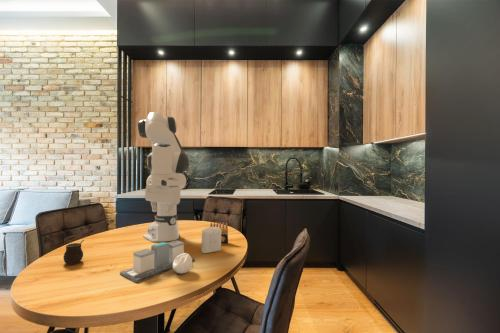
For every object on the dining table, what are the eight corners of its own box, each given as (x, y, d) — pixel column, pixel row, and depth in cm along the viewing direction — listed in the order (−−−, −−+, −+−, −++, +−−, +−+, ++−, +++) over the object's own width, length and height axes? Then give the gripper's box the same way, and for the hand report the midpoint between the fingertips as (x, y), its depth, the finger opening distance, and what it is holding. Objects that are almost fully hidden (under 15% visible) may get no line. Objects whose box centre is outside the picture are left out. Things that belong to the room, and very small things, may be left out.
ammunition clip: (209, 242, 143) (209, 221, 143) (209, 241, 145) (210, 221, 145) (227, 243, 142) (227, 222, 142) (228, 242, 144) (228, 221, 144)
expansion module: (150, 264, 107) (151, 244, 107) (163, 260, 112) (163, 241, 112) (156, 266, 104) (156, 246, 104) (168, 262, 109) (169, 243, 109)
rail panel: (120, 274, 100) (120, 269, 100) (177, 255, 123) (177, 251, 123) (136, 283, 93) (136, 277, 93) (194, 260, 116) (194, 256, 116)
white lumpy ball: (170, 270, 104) (171, 252, 104) (188, 267, 108) (189, 249, 108) (175, 278, 97) (175, 258, 97) (194, 274, 101) (194, 255, 101)
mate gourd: (65, 260, 113) (66, 238, 113) (85, 258, 116) (86, 237, 116) (60, 266, 107) (61, 243, 107) (81, 264, 110) (82, 241, 110)
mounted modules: (133, 270, 101) (133, 252, 101) (176, 255, 118) (176, 240, 118) (140, 273, 98) (140, 255, 98) (183, 257, 115) (183, 242, 115)
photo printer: (218, 248, 134) (218, 225, 134) (222, 250, 130) (222, 226, 130) (200, 251, 128) (200, 227, 128) (203, 254, 124) (204, 229, 124)
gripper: (141, 179, 112) (140, 211, 112) (170, 182, 100) (169, 217, 100) (154, 179, 117) (153, 209, 117) (183, 181, 105) (182, 215, 105)
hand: (161, 213), depth 108 cm, fingers open, 8 cm apart
